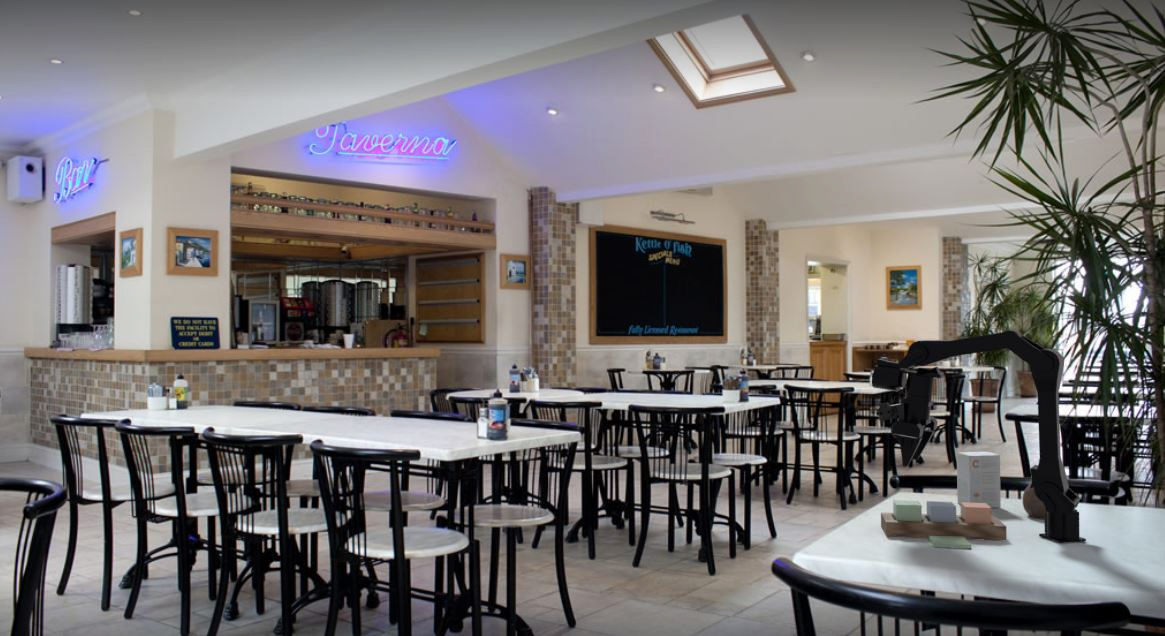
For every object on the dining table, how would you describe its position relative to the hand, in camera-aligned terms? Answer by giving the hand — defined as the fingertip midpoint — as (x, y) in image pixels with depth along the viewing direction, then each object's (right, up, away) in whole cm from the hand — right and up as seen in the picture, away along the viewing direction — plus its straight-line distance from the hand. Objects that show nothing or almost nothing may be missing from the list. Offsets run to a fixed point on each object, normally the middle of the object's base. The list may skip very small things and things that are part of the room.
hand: (910, 462), depth 212 cm
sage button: (-4, -11, -10) cm, 16 cm away
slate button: (+3, -11, -11) cm, 16 cm away
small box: (+23, -14, +18) cm, 32 cm away
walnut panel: (+3, -14, -11) cm, 18 cm away
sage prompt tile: (+1, -14, -21) cm, 25 cm away
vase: (+32, -14, +5) cm, 35 cm away
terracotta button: (+10, -11, -13) cm, 19 cm away
